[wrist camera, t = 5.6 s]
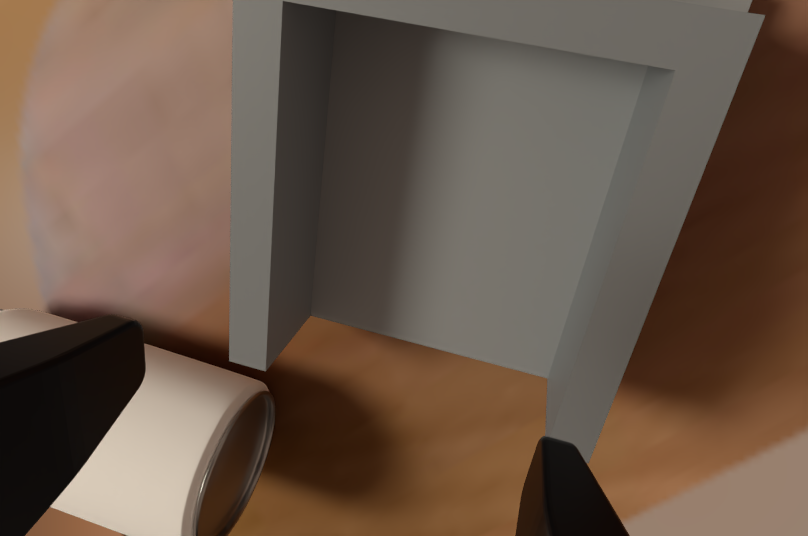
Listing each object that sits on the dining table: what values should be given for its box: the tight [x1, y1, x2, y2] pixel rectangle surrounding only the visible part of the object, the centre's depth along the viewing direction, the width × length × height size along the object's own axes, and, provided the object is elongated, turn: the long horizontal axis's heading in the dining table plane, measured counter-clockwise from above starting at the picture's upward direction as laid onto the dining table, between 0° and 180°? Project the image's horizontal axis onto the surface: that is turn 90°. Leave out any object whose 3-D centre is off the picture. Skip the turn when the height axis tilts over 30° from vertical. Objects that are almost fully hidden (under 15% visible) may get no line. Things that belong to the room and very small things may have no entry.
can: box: [0, 308, 276, 536], centre depth 22 cm, size 6×6×12 cm
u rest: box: [229, 0, 765, 463], centre depth 16 cm, size 12×12×4 cm
